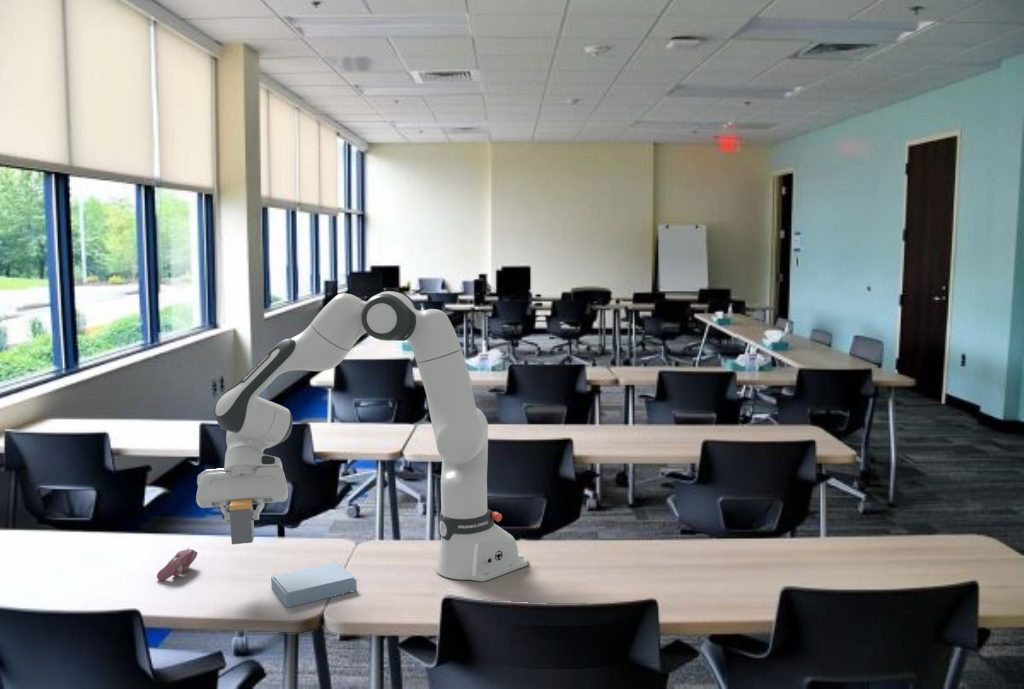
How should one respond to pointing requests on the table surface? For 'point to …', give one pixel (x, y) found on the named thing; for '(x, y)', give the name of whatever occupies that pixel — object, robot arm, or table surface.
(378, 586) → the table surface
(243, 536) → the block
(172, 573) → the video game controller
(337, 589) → the stand
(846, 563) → the table surface
